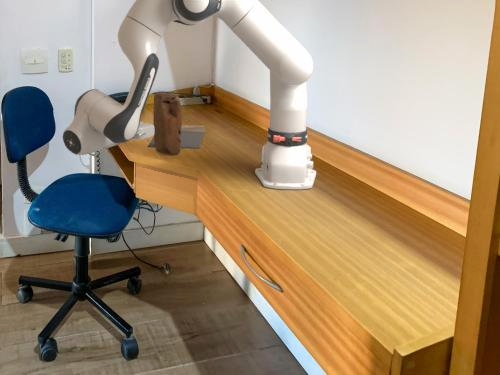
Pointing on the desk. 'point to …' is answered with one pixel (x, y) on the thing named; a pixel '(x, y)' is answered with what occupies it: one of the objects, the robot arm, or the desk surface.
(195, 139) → the mat
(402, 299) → the desk surface
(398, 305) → the desk surface
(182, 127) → the stop strip
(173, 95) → the block
